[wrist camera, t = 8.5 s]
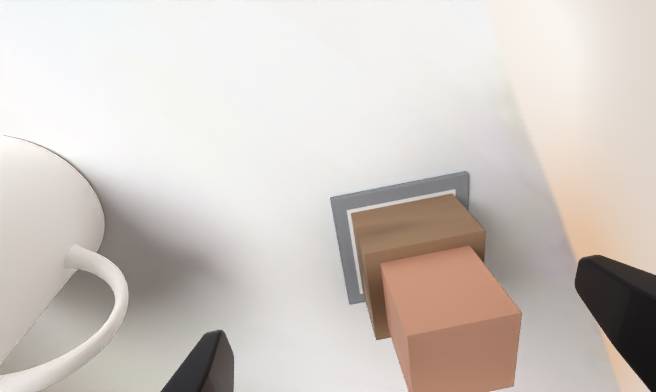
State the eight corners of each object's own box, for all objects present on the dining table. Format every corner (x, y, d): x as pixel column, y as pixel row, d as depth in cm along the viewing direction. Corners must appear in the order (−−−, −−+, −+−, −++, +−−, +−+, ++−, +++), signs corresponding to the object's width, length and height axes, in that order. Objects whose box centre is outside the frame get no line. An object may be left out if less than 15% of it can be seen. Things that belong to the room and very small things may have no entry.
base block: (452, 273, 24) (481, 319, 21) (362, 291, 24) (376, 340, 20) (452, 193, 21) (485, 230, 18) (350, 213, 21) (363, 254, 18)
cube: (468, 311, 20) (513, 386, 16) (388, 327, 20) (413, 407, 16) (469, 245, 18) (522, 312, 14) (380, 263, 18) (407, 336, 14)
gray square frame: (464, 277, 25) (467, 282, 25) (348, 300, 25) (349, 305, 24) (465, 171, 21) (469, 174, 21) (330, 197, 21) (331, 201, 21)
